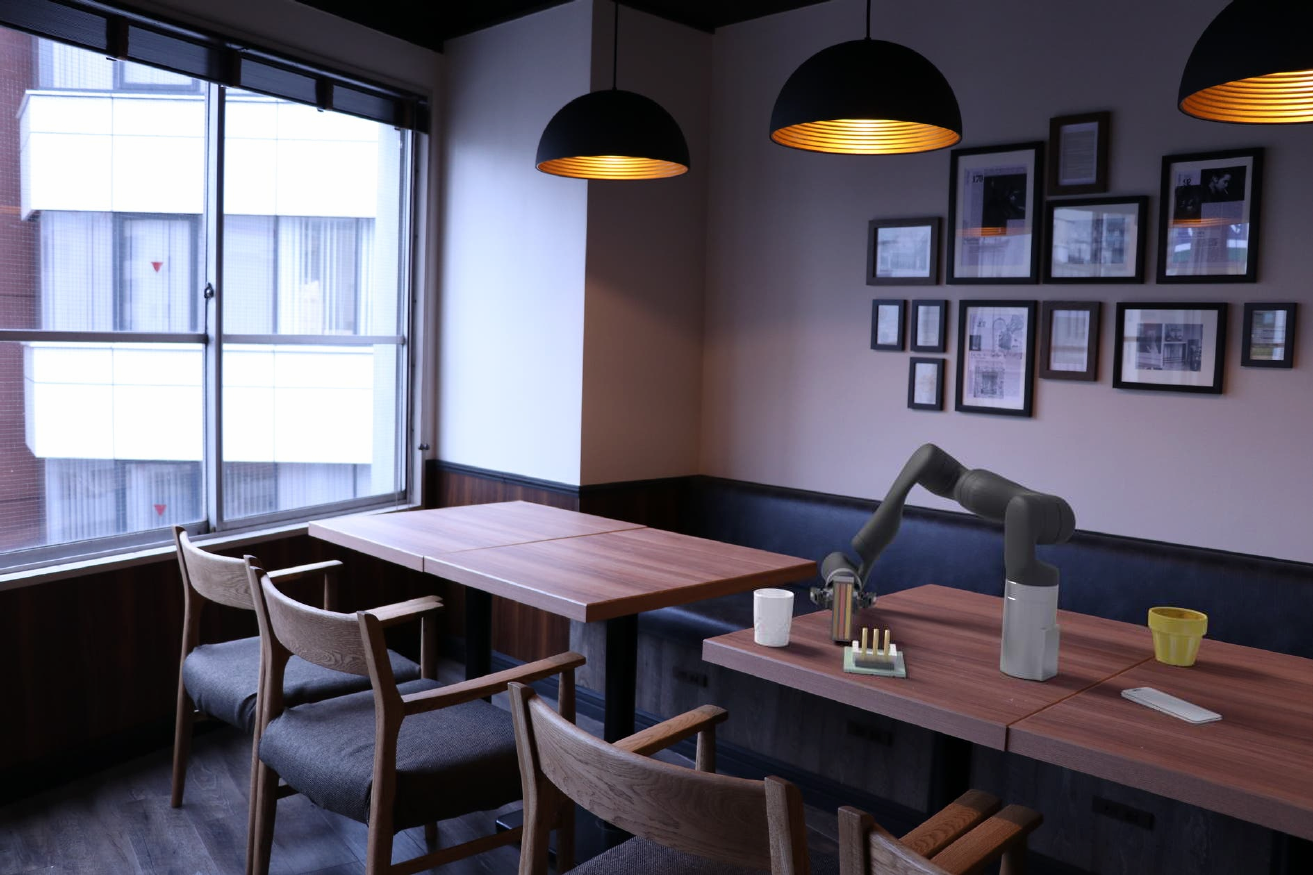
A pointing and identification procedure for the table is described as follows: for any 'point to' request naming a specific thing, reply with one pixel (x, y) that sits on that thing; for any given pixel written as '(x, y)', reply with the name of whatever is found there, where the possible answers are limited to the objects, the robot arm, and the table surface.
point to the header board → (874, 658)
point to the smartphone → (1170, 705)
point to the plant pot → (1176, 634)
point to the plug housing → (842, 608)
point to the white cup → (772, 616)
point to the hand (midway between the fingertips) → (842, 606)
